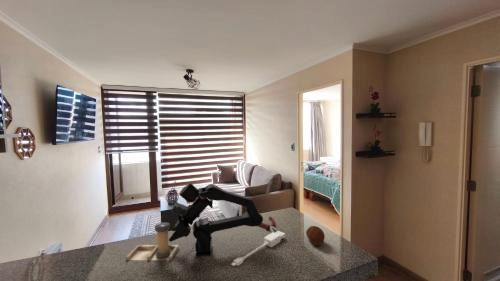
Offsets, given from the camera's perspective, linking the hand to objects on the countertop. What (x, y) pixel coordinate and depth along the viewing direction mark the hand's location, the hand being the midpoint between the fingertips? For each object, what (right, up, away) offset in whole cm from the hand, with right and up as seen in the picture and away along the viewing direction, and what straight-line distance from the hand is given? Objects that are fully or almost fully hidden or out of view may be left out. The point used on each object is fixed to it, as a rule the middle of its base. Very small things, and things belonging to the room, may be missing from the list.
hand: (171, 235), depth 95 cm
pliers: (+43, -8, +27) cm, 52 cm away
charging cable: (+39, -9, +5) cm, 40 cm away
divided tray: (-8, -9, 0) cm, 12 cm away
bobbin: (-3, -8, 0) cm, 9 cm away
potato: (+66, -8, +10) cm, 67 cm away
